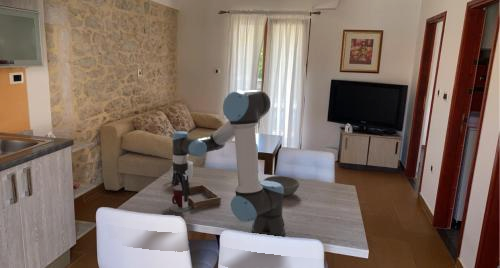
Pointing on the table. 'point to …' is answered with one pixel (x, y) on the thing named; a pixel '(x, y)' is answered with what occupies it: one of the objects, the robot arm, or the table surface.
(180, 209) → the coaster
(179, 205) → the mug
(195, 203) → the caddy
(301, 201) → the table surface
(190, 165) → the mug
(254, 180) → the robot arm
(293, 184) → the bowl
